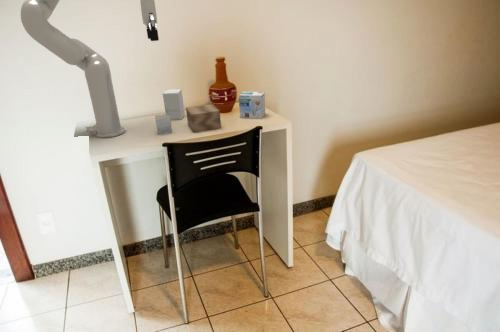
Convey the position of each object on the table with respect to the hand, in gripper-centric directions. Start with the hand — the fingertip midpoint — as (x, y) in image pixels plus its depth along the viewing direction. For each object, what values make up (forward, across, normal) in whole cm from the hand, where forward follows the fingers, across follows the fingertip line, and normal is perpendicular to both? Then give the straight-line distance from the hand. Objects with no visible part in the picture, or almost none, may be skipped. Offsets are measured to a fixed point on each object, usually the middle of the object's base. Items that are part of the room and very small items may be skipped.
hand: (153, 39), depth 163 cm
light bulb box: (+37, +7, +39) cm, 54 cm away
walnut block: (+37, +11, +15) cm, 41 cm away
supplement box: (+37, -9, +6) cm, 39 cm away
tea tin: (+37, +10, -2) cm, 38 cm away
